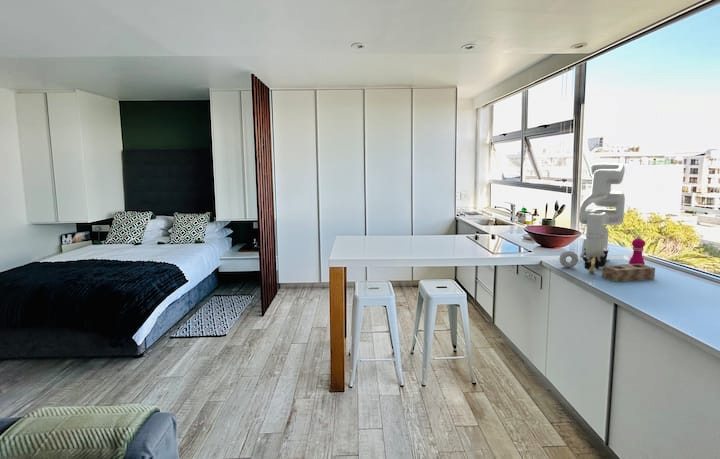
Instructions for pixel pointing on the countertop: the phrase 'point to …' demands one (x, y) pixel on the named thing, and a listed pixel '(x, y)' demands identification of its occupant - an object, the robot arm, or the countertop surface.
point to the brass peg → (592, 265)
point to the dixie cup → (603, 260)
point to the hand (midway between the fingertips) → (591, 268)
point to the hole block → (628, 272)
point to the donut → (567, 254)
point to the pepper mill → (637, 251)
